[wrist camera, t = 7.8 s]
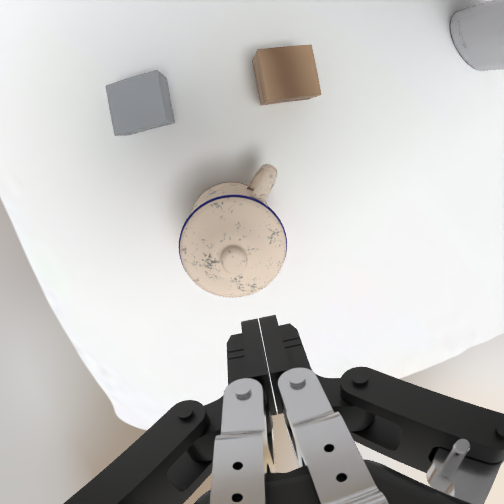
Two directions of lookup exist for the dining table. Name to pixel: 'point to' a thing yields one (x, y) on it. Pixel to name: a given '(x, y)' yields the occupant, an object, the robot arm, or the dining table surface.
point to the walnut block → (286, 74)
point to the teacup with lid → (234, 238)
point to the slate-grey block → (139, 103)
